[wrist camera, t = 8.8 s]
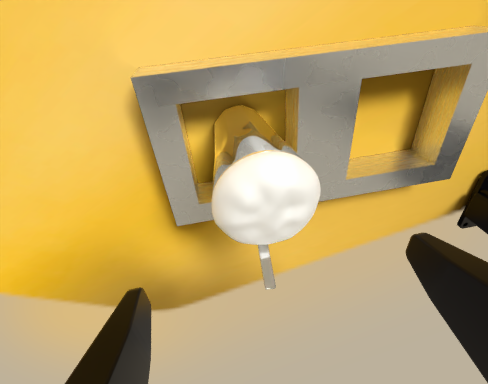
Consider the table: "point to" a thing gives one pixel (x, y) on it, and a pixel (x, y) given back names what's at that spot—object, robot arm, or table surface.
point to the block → (323, 109)
